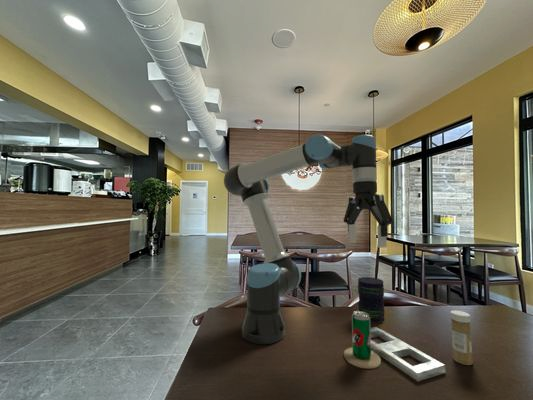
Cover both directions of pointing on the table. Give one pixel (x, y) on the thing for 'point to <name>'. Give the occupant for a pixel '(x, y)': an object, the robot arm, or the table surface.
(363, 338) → the soda can
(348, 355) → the coaster
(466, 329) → the sprinkles bottle
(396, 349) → the white flat rectangular frame
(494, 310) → the table surface
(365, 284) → the dark blue canister
